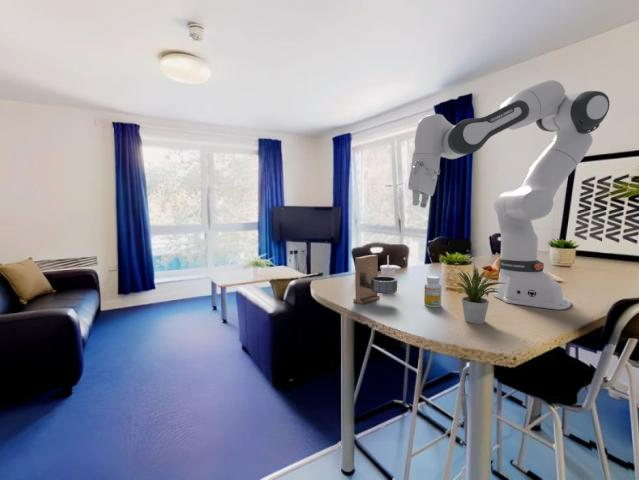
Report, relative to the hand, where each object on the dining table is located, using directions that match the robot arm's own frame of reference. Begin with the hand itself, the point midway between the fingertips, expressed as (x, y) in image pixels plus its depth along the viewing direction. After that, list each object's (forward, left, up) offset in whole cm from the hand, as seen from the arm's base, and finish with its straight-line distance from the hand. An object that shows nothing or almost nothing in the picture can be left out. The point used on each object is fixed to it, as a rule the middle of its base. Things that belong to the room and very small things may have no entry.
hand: (419, 206), depth 107 cm
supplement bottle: (-5, -1, -34) cm, 34 cm away
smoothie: (+18, -8, -34) cm, 39 cm away
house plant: (-21, +6, -34) cm, 40 cm away
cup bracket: (+10, +10, -33) cm, 36 cm away
